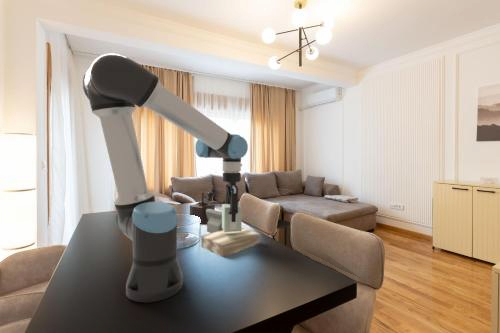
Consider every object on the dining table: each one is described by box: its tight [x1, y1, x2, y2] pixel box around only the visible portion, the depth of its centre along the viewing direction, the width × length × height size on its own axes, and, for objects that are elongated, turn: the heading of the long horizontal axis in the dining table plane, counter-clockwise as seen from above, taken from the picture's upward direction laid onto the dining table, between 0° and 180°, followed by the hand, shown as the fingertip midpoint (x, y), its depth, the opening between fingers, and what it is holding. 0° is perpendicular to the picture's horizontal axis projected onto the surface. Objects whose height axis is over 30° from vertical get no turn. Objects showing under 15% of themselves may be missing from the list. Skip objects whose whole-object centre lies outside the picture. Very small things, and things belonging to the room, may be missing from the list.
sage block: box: [221, 203, 243, 232], centre depth 104 cm, size 7×7×10 cm
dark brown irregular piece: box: [189, 191, 216, 225], centre depth 140 cm, size 16×11×18 cm
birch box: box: [200, 227, 261, 258], centre depth 105 cm, size 14×20×5 cm
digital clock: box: [206, 209, 223, 233], centre depth 123 cm, size 16×9×11 cm, turn 37°
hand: (231, 226), depth 105 cm, fingers closed on sage block, 7 cm apart
